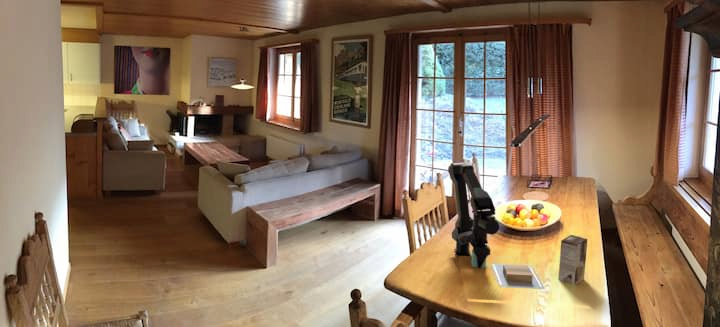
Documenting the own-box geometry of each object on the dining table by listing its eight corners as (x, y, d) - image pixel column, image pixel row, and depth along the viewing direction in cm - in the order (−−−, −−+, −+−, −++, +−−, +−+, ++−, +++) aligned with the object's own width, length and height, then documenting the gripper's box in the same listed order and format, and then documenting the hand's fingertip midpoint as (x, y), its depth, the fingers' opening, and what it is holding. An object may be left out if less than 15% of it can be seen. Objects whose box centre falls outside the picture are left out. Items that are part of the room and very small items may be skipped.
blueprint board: (490, 265, 199) (490, 263, 198) (531, 267, 197) (531, 265, 197) (498, 288, 177) (498, 286, 177) (544, 291, 175) (545, 288, 175)
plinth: (502, 272, 190) (503, 264, 189) (526, 273, 189) (527, 266, 188) (506, 281, 181) (507, 274, 180) (532, 283, 180) (532, 275, 179)
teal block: (471, 264, 200) (471, 250, 199) (483, 264, 199) (484, 250, 198) (472, 268, 195) (473, 254, 194) (485, 269, 195) (486, 255, 194)
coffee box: (567, 274, 190) (570, 234, 187) (584, 279, 185) (588, 238, 183) (557, 281, 184) (560, 239, 181) (574, 286, 179) (578, 244, 176)
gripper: (457, 219, 204) (456, 254, 207) (461, 233, 186) (459, 272, 189) (485, 220, 203) (483, 256, 206) (491, 234, 185) (489, 273, 188)
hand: (478, 264), depth 197 cm, fingers open, 7 cm apart
